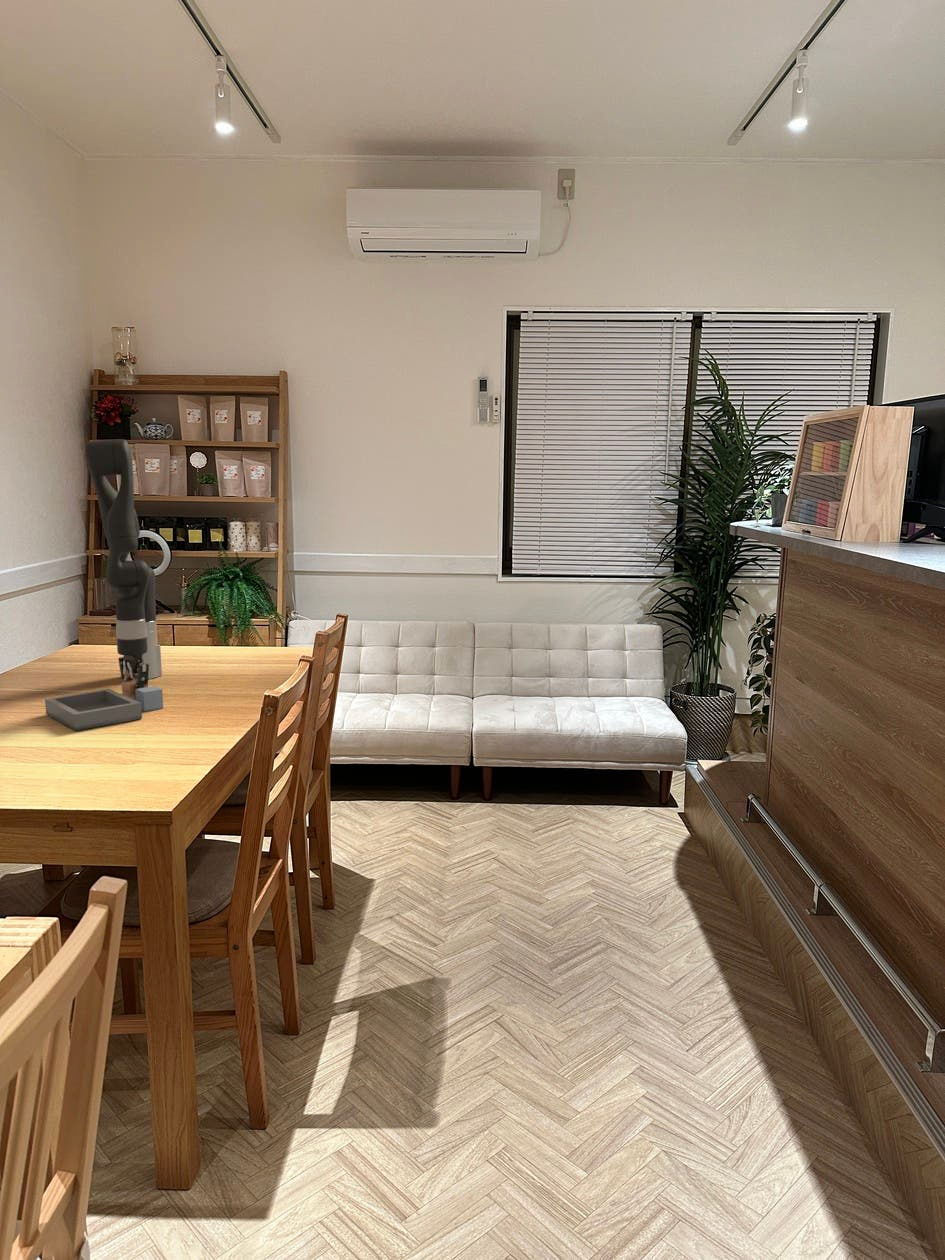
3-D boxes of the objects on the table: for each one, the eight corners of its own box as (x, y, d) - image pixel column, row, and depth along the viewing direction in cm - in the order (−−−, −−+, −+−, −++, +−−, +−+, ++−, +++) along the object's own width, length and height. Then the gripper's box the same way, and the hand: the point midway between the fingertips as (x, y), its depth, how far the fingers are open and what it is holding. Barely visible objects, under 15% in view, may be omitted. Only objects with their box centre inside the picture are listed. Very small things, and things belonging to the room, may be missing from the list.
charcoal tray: (109, 703, 227) (108, 688, 227) (142, 718, 213) (141, 702, 213) (46, 714, 216) (44, 698, 216) (75, 730, 202) (74, 714, 202)
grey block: (154, 704, 227) (153, 686, 226) (163, 707, 224) (162, 689, 223) (136, 707, 224) (135, 689, 223) (144, 711, 220) (143, 692, 219)
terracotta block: (140, 696, 234) (139, 679, 233) (148, 700, 230) (147, 682, 229) (122, 700, 230) (121, 681, 229) (130, 703, 227) (129, 685, 226)
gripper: (157, 637, 225) (160, 700, 228) (134, 630, 235) (137, 690, 238) (129, 641, 219) (133, 705, 222) (106, 633, 229) (110, 695, 232)
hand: (135, 697), depth 230 cm, fingers closed on terracotta block, 5 cm apart
